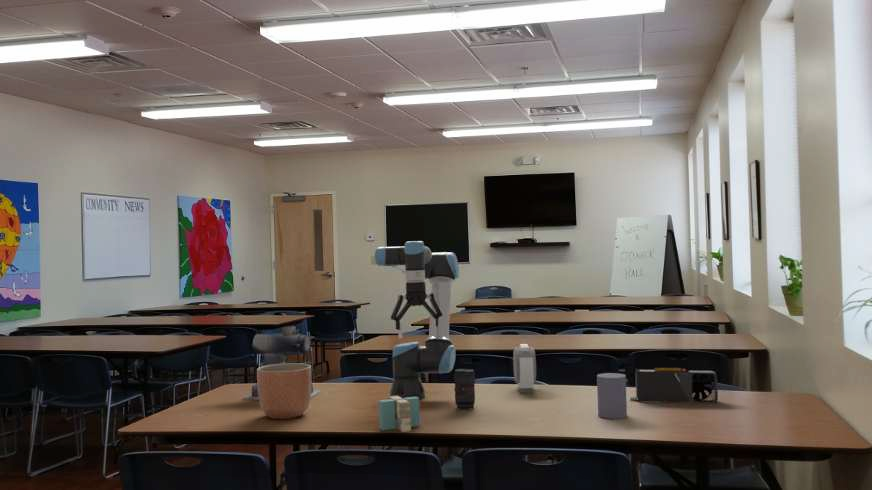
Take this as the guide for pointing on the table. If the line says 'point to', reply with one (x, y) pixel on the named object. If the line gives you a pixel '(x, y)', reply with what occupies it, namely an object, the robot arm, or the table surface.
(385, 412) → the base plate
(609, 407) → the container
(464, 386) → the camera lens
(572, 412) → the table surface
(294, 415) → the planter
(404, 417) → the upper plate
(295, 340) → the grinder
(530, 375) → the alarm clock
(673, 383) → the graphics card
